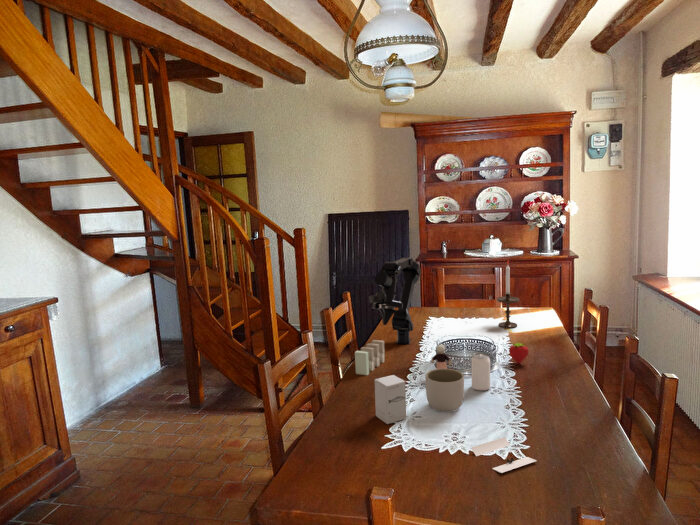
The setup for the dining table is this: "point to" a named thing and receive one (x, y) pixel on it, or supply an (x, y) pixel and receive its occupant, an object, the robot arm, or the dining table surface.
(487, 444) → the pale pink flat slab
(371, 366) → the domino
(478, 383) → the can
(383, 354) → the domino
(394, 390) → the supplement box
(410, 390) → the dining table surface
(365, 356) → the sage end domino
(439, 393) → the planter
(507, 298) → the candlestick
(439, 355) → the grandmother figurine
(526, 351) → the strawberry
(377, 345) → the domino
